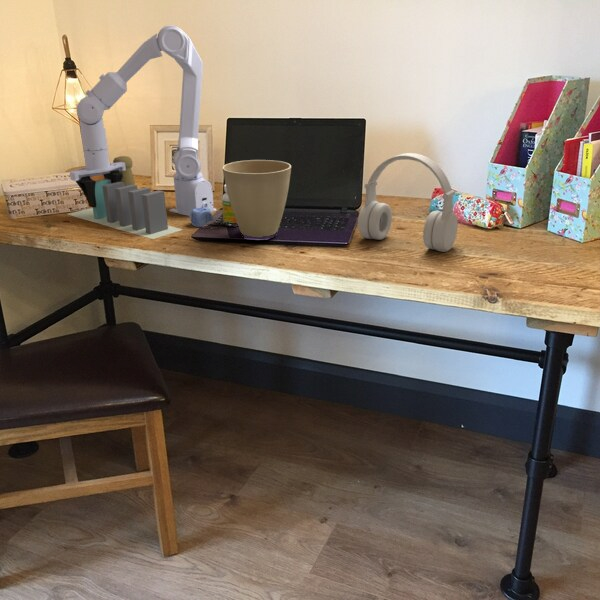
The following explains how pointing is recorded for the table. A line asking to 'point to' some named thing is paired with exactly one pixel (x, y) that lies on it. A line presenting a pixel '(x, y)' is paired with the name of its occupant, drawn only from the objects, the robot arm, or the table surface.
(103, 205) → the domino
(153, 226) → the domino
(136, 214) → the domino
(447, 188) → the headphones
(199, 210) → the decorative dice
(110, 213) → the domino
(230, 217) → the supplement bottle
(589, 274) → the table surface
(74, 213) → the mat
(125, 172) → the cork
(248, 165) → the plant pot
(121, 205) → the domino
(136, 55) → the robot arm
